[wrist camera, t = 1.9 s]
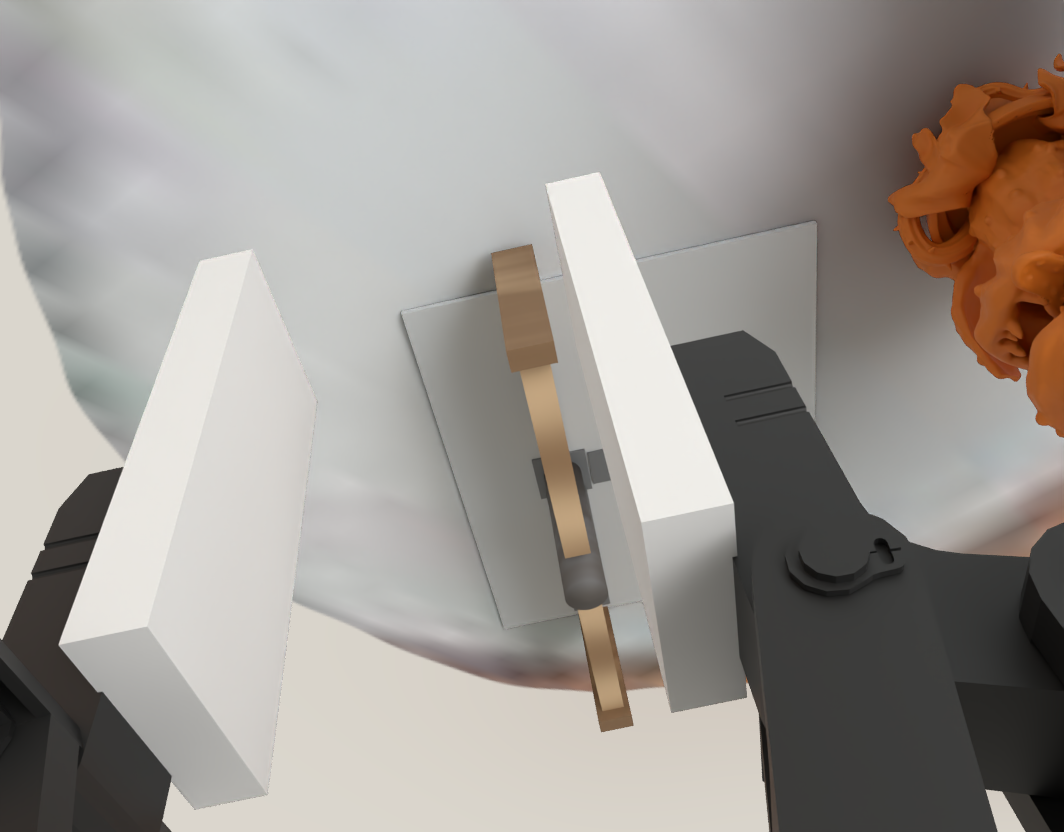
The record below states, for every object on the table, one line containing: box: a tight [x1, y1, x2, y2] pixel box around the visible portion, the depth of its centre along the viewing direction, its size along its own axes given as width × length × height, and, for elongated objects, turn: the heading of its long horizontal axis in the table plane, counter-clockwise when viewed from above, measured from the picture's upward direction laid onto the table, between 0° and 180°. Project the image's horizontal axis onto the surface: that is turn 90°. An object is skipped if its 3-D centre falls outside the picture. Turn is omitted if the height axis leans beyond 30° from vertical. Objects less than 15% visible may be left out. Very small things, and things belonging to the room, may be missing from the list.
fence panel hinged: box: [491, 244, 591, 559], centre depth 41 cm, size 12×2×8 cm, turn 11°
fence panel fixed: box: [544, 462, 633, 732], centre depth 49 cm, size 13×2×8 cm, turn 11°
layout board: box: [401, 221, 817, 629], centre depth 48 cm, size 19×23×1 cm
